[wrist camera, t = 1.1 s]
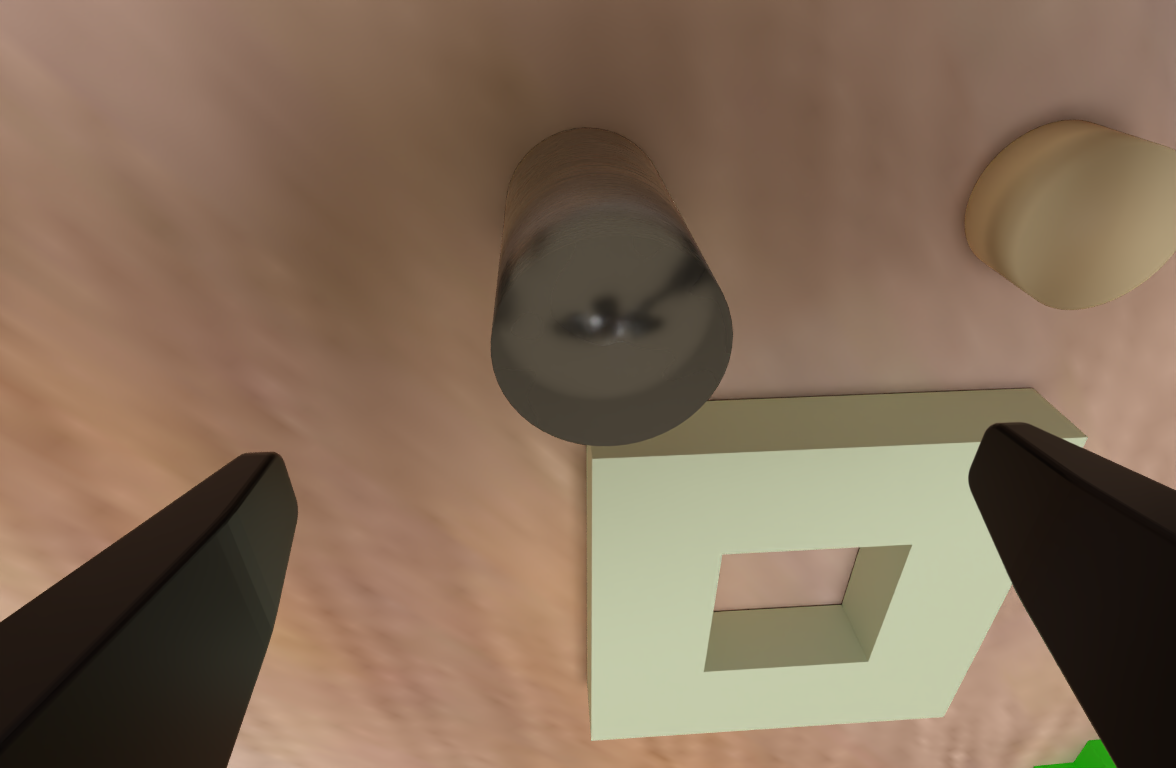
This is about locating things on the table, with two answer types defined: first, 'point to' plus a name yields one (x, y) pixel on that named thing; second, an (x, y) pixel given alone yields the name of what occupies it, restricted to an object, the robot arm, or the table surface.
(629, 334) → the long steel pin
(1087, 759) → the building blocks
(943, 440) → the hole board
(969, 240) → the short birch pin
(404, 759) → the table surface
